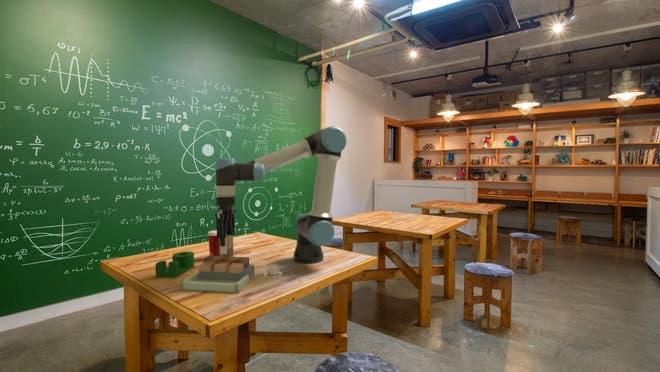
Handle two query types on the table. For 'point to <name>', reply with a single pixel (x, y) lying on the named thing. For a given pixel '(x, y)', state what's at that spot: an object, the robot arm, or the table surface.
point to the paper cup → (214, 243)
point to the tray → (213, 284)
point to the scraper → (228, 255)
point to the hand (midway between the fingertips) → (226, 252)
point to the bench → (227, 274)
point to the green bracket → (175, 265)
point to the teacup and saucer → (272, 271)
